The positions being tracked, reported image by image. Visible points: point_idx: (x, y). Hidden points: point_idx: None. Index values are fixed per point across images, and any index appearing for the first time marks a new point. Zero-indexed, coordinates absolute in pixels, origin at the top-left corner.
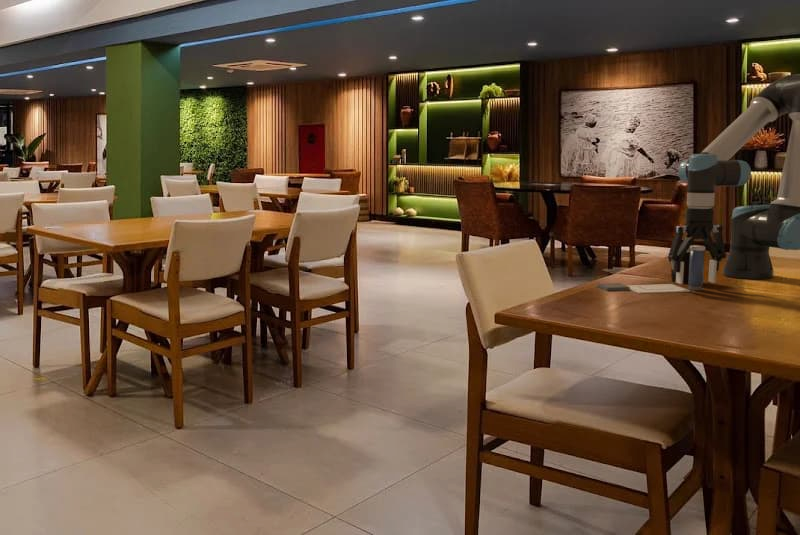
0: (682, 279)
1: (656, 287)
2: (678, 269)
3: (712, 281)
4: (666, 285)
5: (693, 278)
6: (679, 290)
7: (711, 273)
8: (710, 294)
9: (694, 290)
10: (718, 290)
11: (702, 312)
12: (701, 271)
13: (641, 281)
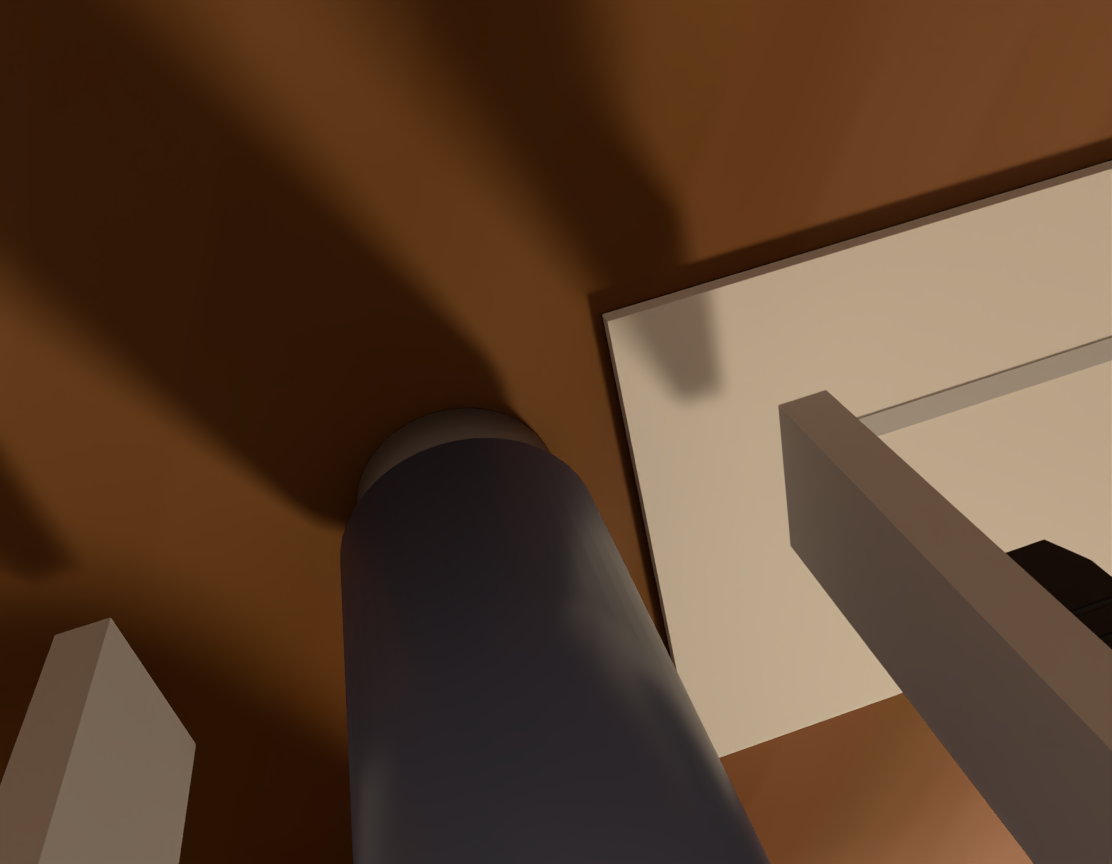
0: (835, 445)
1: (1010, 500)
2: (1062, 596)
3: (122, 657)
4: (805, 661)
5: (587, 541)
6: (791, 310)
7: (117, 839)
8: (261, 53)
9: (498, 417)
10: (24, 517)
11: None
12: (441, 678)
13: (929, 853)
